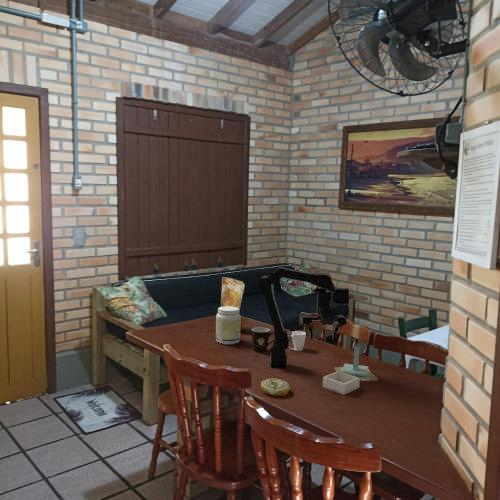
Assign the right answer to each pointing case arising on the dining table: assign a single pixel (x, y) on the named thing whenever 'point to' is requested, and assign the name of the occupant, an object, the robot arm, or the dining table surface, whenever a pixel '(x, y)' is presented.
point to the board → (367, 378)
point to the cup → (298, 340)
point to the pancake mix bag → (232, 292)
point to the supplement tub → (228, 325)
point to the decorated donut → (275, 387)
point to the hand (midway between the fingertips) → (322, 339)
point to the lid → (356, 365)
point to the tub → (341, 382)
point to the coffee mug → (260, 339)
